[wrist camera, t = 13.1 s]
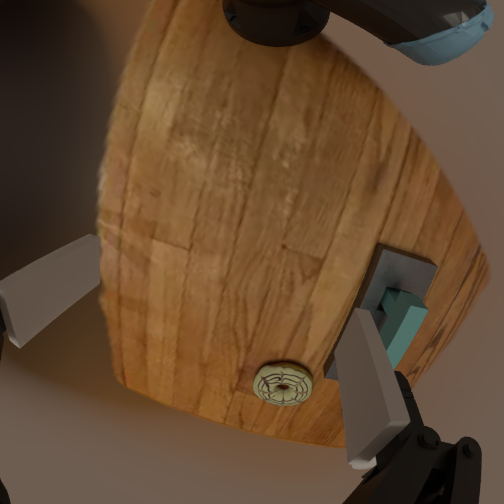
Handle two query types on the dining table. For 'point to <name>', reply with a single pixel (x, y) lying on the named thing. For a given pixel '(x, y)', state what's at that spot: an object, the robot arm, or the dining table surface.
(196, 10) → the dining table surface
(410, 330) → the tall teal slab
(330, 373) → the slotted metal plate
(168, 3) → the dining table surface
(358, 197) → the dining table surface
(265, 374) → the decorated donut
